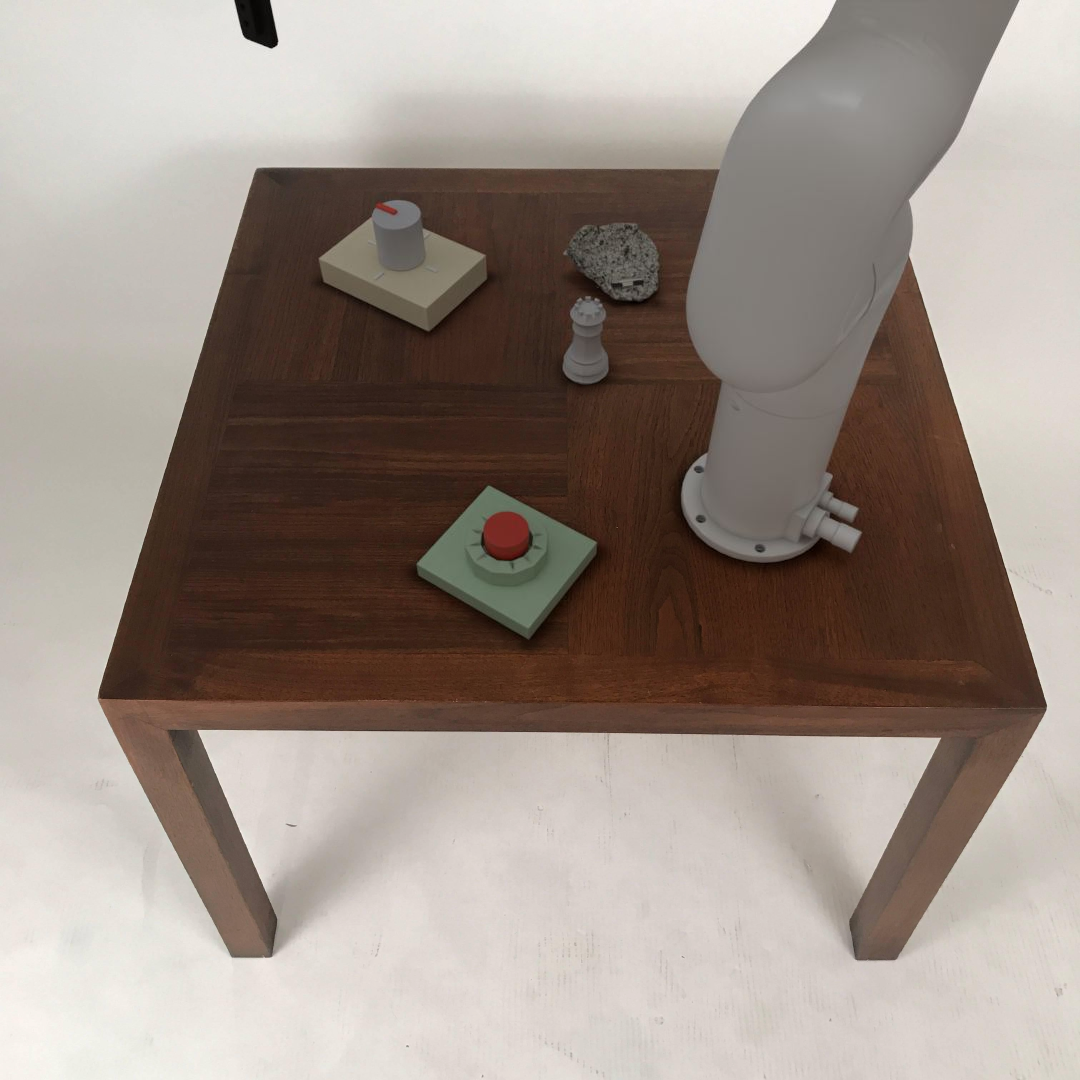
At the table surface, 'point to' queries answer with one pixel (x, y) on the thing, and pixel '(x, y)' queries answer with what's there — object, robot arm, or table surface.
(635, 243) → the rock sample
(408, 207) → the knob
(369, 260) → the panel
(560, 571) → the button block
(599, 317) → the rook chess piece
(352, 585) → the table surface
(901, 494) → the table surface
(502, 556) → the button
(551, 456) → the table surface
